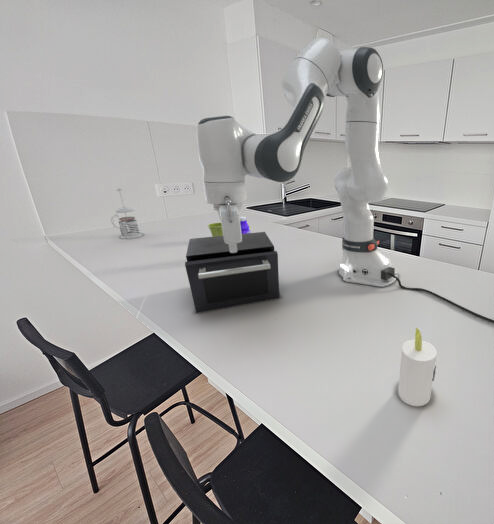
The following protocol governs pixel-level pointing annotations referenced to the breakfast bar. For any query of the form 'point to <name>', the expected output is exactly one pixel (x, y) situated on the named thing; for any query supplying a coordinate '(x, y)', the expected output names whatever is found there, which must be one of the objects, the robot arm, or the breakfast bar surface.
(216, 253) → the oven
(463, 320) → the breakfast bar surface
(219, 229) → the plant pot
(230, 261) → the oven door
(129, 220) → the french press
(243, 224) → the bottle
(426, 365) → the candle
